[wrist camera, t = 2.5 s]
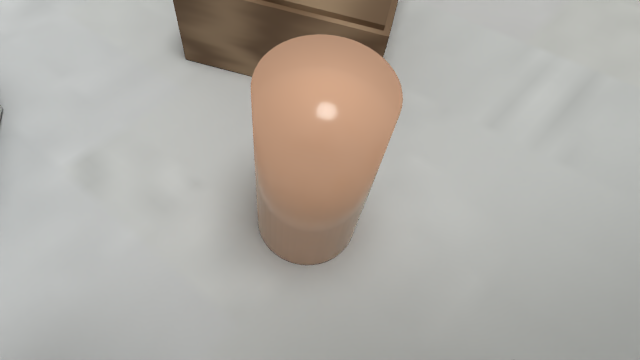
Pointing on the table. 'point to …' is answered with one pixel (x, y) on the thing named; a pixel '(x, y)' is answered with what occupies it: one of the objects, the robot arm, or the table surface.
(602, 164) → the table surface
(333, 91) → the terracotta canister
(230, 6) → the walnut box
